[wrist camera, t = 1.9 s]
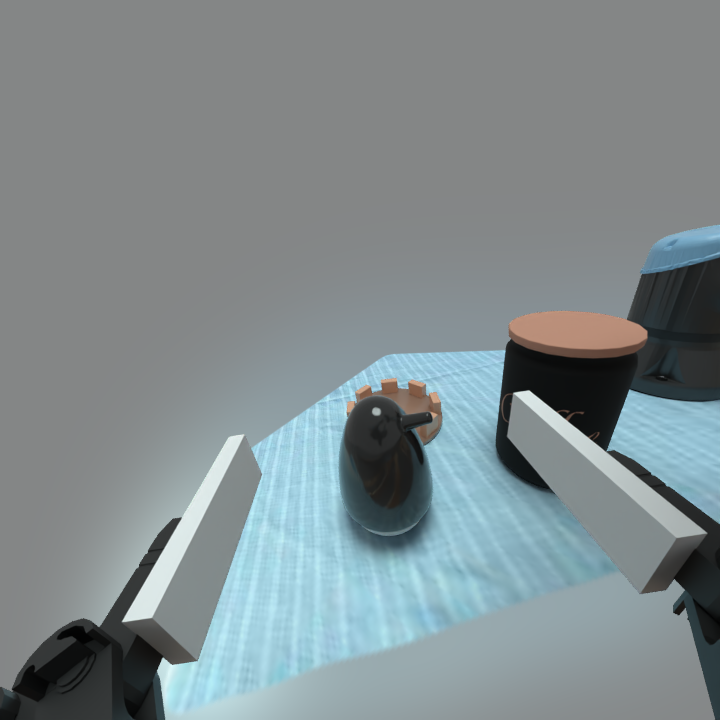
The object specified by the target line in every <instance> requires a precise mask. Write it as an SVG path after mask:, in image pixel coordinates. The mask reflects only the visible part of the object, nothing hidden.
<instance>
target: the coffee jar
mask: <svg viewBox="0 0 720 720" xmlns="http://www.w3.org/2000/svg"><path fill="white" fill-rule="evenodd" d="M509 337H510V338H511V340H510V341H509V342H508V343H507V346H506V352H505V361H504V370H503V379H502V388H501V397H500V406H499V415H498V424H497V433H496V448H497V450H498V452H499V454H500V457H501V459H502V460H503V461H504V462H505V463H506V465H507V466H508V467H509V468H510V469H511V470H512V471H513V472H514V473H516V474H517V475H518V476H520V477H521V478H523V479H524V480H526V481H528V482H531V483H533V484H535V485H537V486H540V487H544V488H549V489H551V488H550V487H549V486H548V484H547V483H546V482H545V481H544V480H543V478H542V477H541V476H540V475H539V474H538V473H537V471H536V470H535V469H534V468H533V467H532V465H531V464H530V463H529V462H528V461H527V459H526V458H525V457H524V456H523V455H522V454H521V452H520V451H519V450H518V449H517V448H516V446H515V445H514V444H513V443H512V442H511V441H510V439H509V438H508V437H507V434H508V427H509V420H510V413H511V406H512V399H513V393H516V392H522V391H530V392H532V393H533V394H534V395H535V396H537V397H538V398H539V399H540V400H542V401H543V402H544V403H545V404H547V405H548V406H549V407H550V408H552V409H553V410H554V411H555V412H557V413H558V414H559V415H560V416H562V417H563V418H564V419H565V420H567V421H568V422H569V423H570V424H572V425H573V426H574V427H575V428H577V429H578V430H579V431H580V432H582V433H583V434H584V435H585V436H587V437H588V438H589V439H590V440H592V441H593V442H594V443H595V444H597V445H598V446H599V447H600V448H602V449H603V450H604V451H605V452H606V451H607V448H608V446H609V443H610V440H611V437H612V435H613V432H614V429H615V427H616V424H617V421H618V418H619V416H620V413H621V410H622V408H623V405H624V402H625V400H626V397H627V394H628V391H629V389H630V386H631V383H632V381H633V378H634V375H635V372H636V370H637V367H638V355H637V353H636V351H638V350H639V349H641V348H642V347H644V345H645V343H646V341H647V331H646V330H645V329H644V328H643V327H641V326H640V325H639V324H636V323H634V322H631V321H628V320H626V319H623V318H618V317H614V316H610V315H604V314H597V313H590V312H575V311H550V312H539V313H533V314H528V315H524V316H521V317H518V318H516V319H514V320H513V321H512V322H511V323H510V324H509Z"/></svg>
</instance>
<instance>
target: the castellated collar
mask: <svg viewBox="0 0 720 720" xmlns="http://www.w3.org/2000/svg"><path fill="white" fill-rule="evenodd" d="M381 384H382V390H381V391H377V392H374V393H372V391H371V386H368V385H365V386H364V387H362V388H361V389H359V390H357V391H356V392H355V394H356V399H357V403H358V402H359V401H360V400H362V399H364V398H366V397H369V396H375V395H379V396H385V397H388V398H390V399H392V400H393V401H395V402H396V403H397V404H398V405H399V406H400V407H401V408H402V409H403V410H404V411H405V413H406V414H414V413H420V412H427V411H428V412H430V413H431V414H432V416H433V421H432V423H430V424H427V425H424V426H420V427H417V428H416V430H417V432H418V434H419V436H420V438H421V440H422V443H423V445H426V444H427V443H429V442H430V441H431V440H432V439H434V438H435V436H436V435H437V434H438V432H439V431H440V429H441V425H442V412H441V402H440V399H439V397H438V395H437V393H436V392H433V393H429V396H427V395H426V384H424V383H421V382H418V381H415V380H411V381H409V382H408V385H409V389H401V388H398V387H397V379H396V378H393V379H384V380H381ZM357 403H356V404H357ZM356 404H355V401H350V402H348V405H347V416H349V414H350V412H351V410H352V409H353V407H354V406H355V405H356Z"/></svg>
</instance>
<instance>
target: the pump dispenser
mask: <svg viewBox="0 0 720 720" xmlns="http://www.w3.org/2000/svg"><path fill="white" fill-rule="evenodd" d="M432 421H433V416H432V414H431V413H430V412H428V411H427V412H420V413H414V414H406V413H405V411H404V410H403V409H402V408H401V407H400V406H399V405H398V404H397V403H396V402H395V401H393V400H392V399H390V398H388V397H385V396H379V395H375V396H369V397H366V398H364V399H362V400H360V401H359V402H358V403H357V404H356V405H355V406H354V407H353V409H352V410H351V412H350V414H349V416H348V419H347V421H346V424H345V427H344V430H343V434H342V439H341V444H340V451H339V485H340V493H341V497H342V501H343V504H344V506H345V509H346V510H347V512H348V514H349V515H350V516H351V517H352V518H353V519H354V520H355V521H356V522H357V523H358V524H360V525H361V526H362V527H364V528H365V529H367V530H368V531H370V532H372V533H375V534H378V535H383V536H394V535H399V534H402V533H404V532H406V531H408V530H410V529H411V528H413V527H414V526H415V525H416V524H417V523H418V522H419V521H420V519H421V518H422V517H423V516H424V514H425V513H426V512H427V510H428V508H429V506H430V504H431V501H432V496H433V480H432V474H431V469H430V465H429V461H428V457H427V454H426V451H425V448H424V445H423V443H422V440H421V438H420V436H419V434H418V432H417V430H416V428H417V427H420V426H424V425H427V424H430V423H432Z"/></svg>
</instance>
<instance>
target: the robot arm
mask: <svg viewBox="0 0 720 720" xmlns="http://www.w3.org/2000/svg"><path fill="white" fill-rule="evenodd" d="M640 273H642V275H641V278H640V281H639V285H638V287H637V291H636V294H635V296H634V299H633V302H632V305H631V308H630V311H629V314H628V318H627V320H628V321H631V322H634V323H636V324H639V325H640V326H641V327H643V328H644V329H645V330H646V331H647V341H646V343H645V345H644V347H642V348H641V349H639V350H638V351H636V353H637V355H638V367H637V370H636V372H635V375H634V378H633V381H632V383H631V386H630V388H631V389H634V390H637V391H640V392H644V393H647V394H651V395H656V396H661V397H666V398H673V399H681V400H715V399H720V225H716V226H710V227H705V228H699V229H694V230H689V231H685V232H681V233H677V234H673V235H670V236H667V237H665V238H663V239H661V240H659V241H658V242H656V243H655V244H654V245H653V246H652V248H651V249H650V252H649V255H648V257H647V259H646V262H645V265H644V267H643V268H642V269H641V271H640ZM507 437H508V438H509V439H510V441H511V442H512V443H513V444H514V445H515V446H516V448H517V449H518V450H519V451H520V452H521V454H522V455H523V456H524V457H525V458H526V459H527V461H528V462H529V463H530V464H531V465H532V467H533V468H534V469H535V470H536V471H537V473H538V474H539V475H540V476H541V477H542V478H543V480H544V481H545V482H546V483H547V484H548V486H549V487H550V488H551V489H552V490H553V492H554V493H555V494H556V495H557V496H558V497H559V499H560V500H561V501H562V502H563V503H564V505H565V506H566V507H567V508H568V509H569V511H570V512H571V513H572V514H573V515H574V516H575V518H576V519H577V520H578V521H579V522H580V524H581V525H582V526H583V527H584V528H585V529H586V531H587V532H588V533H589V534H590V535H591V537H592V538H593V539H594V540H595V541H596V543H597V544H598V545H599V546H600V547H601V548H602V550H603V551H604V552H605V553H606V554H607V556H608V557H609V558H610V559H611V560H612V562H613V563H614V564H615V565H616V566H617V567H618V569H619V570H620V571H621V572H622V573H623V575H624V576H625V577H626V578H627V579H628V580H629V582H630V583H631V584H632V585H633V586H634V587H635V589H636V590H637V591H638V592H639V594H643V593H650V592H657V591H663V590H666V589H667V588H668V587H669V585H670V584H671V583H672V581H673V580H674V579H675V580H676V581H677V582H678V583H679V584H680V585H681V586H682V587H683V588H684V589H685V591H684V592H683V594H682V595H681V596H680V598H679V599H678V600H677V601H676V602H675V604H674V605H673V613H675V614H677V615H680V613H681V612H682V611H683V610H684V609H685V608H686V611H687V614H688V620H689V622H690V626H691V629H692V633H693V637H694V641H695V645H696V648H697V652H698V656H699V660H700V663H701V667H702V671H703V674H704V678H705V682H706V686H707V690H708V694H709V697H710V701H711V705H712V709H713V712H714V716H715V720H720V524H718V523H717V522H716V521H714V520H713V519H712V518H710V517H709V516H708V515H706V514H705V513H704V512H702V511H701V510H700V509H698V508H697V507H696V506H694V505H693V504H692V503H690V502H689V501H688V500H686V499H685V498H684V497H682V496H681V495H680V494H678V493H677V492H676V491H674V490H673V489H672V488H670V487H667V486H666V485H665V483H664V482H662V481H661V480H660V479H658V478H657V477H656V476H652V475H651V473H650V472H649V471H648V470H646V469H645V468H644V467H642V466H641V465H640V464H638V463H637V462H636V461H634V460H633V459H631V458H629V457H627V456H625V455H623V454H621V453H619V452H617V451H615V450H613V451H607V452H605V451H604V450H603V449H602V448H600V447H599V446H598V445H597V444H595V443H594V442H593V441H592V440H590V439H589V438H588V437H587V436H585V435H584V434H583V433H582V432H580V431H579V430H578V429H577V428H575V427H574V426H573V425H572V424H570V423H569V422H568V421H567V420H565V419H564V418H563V417H562V416H560V415H559V414H558V413H557V412H555V411H554V410H553V409H552V408H550V407H549V406H548V405H547V404H545V403H544V402H543V401H542V400H540V399H539V398H538V397H537V396H535V395H534V394H533V393H532V392H530V391H522V392H516V393H513V399H512V406H511V413H510V420H509V427H508V434H507ZM261 476H262V473H261V471H260V468H259V466H258V464H257V461H256V459H255V457H254V454H253V452H252V450H251V447H250V445H249V443H248V441H247V439H246V436H245V434H244V435H237V436H231V437H229V438H228V440H227V441H226V443H225V445H224V446H223V448H222V450H221V452H220V453H219V455H218V457H217V459H216V460H215V462H214V464H213V465H212V467H211V469H210V471H209V472H208V474H207V476H206V478H205V479H204V481H203V483H202V484H201V486H200V488H199V490H198V491H197V493H196V495H195V497H194V498H193V500H192V502H191V504H190V505H189V507H188V509H187V510H186V512H185V514H184V516H183V517H181V518H175V519H172V520H171V521H170V522H169V523H168V524H167V525H166V526H165V528H164V529H163V530H162V531H161V532H160V533H159V534H158V535H157V537H156V539H155V540H154V542H153V543H152V545H151V546H150V548H149V550H148V553H147V554H145V556H144V558H143V559H142V561H141V562H140V564H139V568H137V569H136V570H135V572H134V574H133V575H132V577H131V578H130V580H129V581H128V583H127V585H126V586H125V588H124V589H123V591H122V593H121V594H120V596H119V598H118V599H117V601H116V602H115V604H114V605H113V607H112V609H111V610H110V612H109V613H108V615H107V616H106V618H105V620H104V621H103V623H102V625H101V626H100V627H98V626H97V625H95V624H94V623H93V622H91V621H90V620H87V619H84V618H83V619H80V620H76V621H72V622H71V623H69V624H67V625H66V626H64V627H62V628H61V629H59V630H58V631H56V632H55V633H54V634H53V635H52V636H50V638H48V639H47V640H46V641H45V642H43V643H42V644H41V646H40V647H39V648H38V649H37V650H36V651H35V652H34V653H33V654H32V656H31V657H30V658H29V659H28V660H27V662H26V663H25V665H24V666H23V668H22V669H21V671H20V672H19V674H18V675H17V678H16V680H15V683H14V685H13V687H12V690H13V692H11V691H9V690H7V689H4V688H2V687H0V720H165V714H164V707H163V699H162V691H161V685H160V678H159V676H158V673H157V669H158V667H159V665H160V662H161V660H162V658H165V659H166V660H167V661H168V662H169V663H171V664H172V665H174V664H181V663H187V662H194V661H198V659H199V656H200V653H201V650H202V647H203V644H204V641H205V638H206V636H207V633H208V630H209V627H210V624H211V621H212V618H213V615H214V612H215V609H216V607H217V604H218V601H219V598H220V595H221V592H222V589H223V586H224V583H225V580H226V577H227V575H228V572H229V569H230V566H231V563H232V560H233V557H234V554H235V551H236V548H237V546H238V543H239V540H240V537H241V534H242V531H243V528H244V525H245V522H246V519H247V517H248V514H249V511H250V508H251V505H252V502H253V499H254V496H255V493H256V490H257V488H258V485H259V482H260V479H261Z"/></svg>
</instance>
